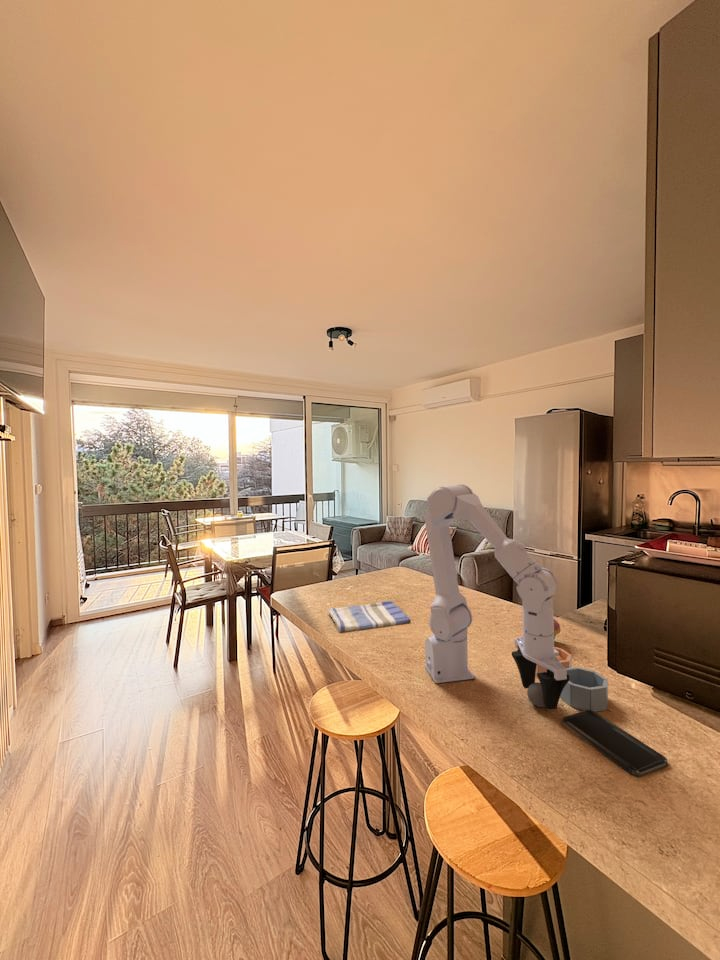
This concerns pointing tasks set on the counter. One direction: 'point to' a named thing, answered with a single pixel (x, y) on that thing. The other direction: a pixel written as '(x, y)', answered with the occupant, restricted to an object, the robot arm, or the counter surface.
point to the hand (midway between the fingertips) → (539, 697)
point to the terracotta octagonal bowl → (565, 662)
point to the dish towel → (367, 616)
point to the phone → (615, 743)
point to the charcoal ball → (536, 694)
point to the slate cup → (585, 690)
